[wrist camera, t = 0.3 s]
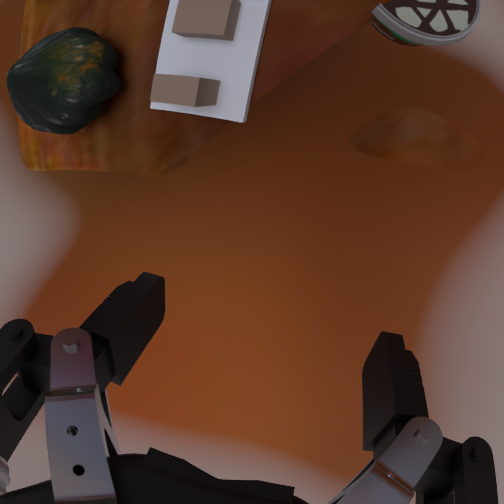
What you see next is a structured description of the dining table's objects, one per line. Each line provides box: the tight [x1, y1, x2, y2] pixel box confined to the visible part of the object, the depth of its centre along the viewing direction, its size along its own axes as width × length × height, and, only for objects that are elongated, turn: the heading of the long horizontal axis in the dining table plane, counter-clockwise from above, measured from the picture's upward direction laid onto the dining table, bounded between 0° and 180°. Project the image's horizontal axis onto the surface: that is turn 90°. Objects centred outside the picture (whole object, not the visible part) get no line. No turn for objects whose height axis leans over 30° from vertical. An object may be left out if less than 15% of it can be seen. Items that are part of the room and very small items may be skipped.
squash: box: [6, 27, 121, 134], centre depth 31 cm, size 14×15×15 cm
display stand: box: [150, 0, 272, 123], centre depth 27 cm, size 24×12×8 cm, turn 169°
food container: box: [372, 0, 480, 46], centre depth 21 cm, size 12×6×10 cm, turn 127°
